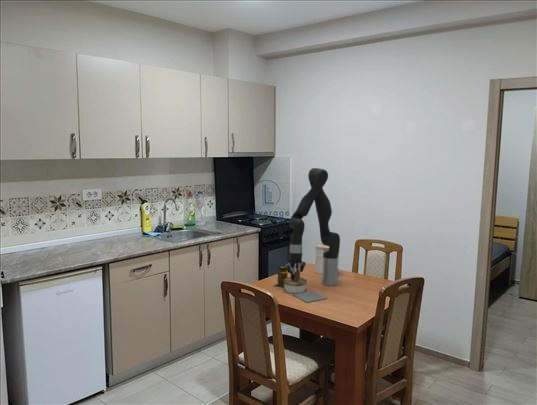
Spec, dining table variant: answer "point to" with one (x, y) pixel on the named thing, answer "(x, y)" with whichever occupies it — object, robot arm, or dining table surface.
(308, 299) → the mat
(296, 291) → the bowl
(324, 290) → the dining table surface
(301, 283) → the lid
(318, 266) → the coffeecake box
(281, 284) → the condiment
